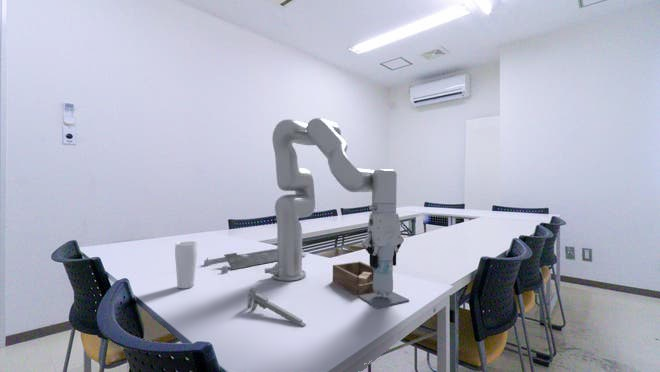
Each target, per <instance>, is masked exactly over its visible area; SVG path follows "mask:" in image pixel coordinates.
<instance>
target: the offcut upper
mask: <svg viewBox="0 0 660 372" xmlns="http://www.w3.org/2000/svg"><path fill="white" fill-rule="evenodd" d="M371 281H372V273H370V272H363V273H362V274H360V275H359V285H360V284H365V283H370V282H371Z"/></svg>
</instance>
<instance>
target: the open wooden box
mask: <svg viewBox="0 0 660 372" xmlns="http://www.w3.org/2000/svg"><path fill="white" fill-rule="evenodd" d="M363 272H370V273H372V280H373V274H374V268H373V267H370V264H367V263H365V262H363V261H360V260H359V261H355V262H354V261H352V262H345V263H340V264H333V265H332V282H333V283H334V284H336V285H338V286H339V287H341V288H343V289H344V290H346V291H348V292H350V293H352V294H353V295H355V296H356V297H358V295H363V294H368V293H373V292H374V291H373V282H371V283H365V284H360V285H359V275H360V274H362V273H363Z"/></svg>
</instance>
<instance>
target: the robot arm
mask: <svg viewBox="0 0 660 372" xmlns="http://www.w3.org/2000/svg"><path fill="white" fill-rule="evenodd" d="M272 132H273V133H272V138H271V139H272V140H271V141H272V146H273V150H274V159H275V171H276V172H275V173H276V183H277V186H278V189H280V190H281V191H284V192H294V193H295V194H294V193H293V194H285V195H282V196H280V197H278V198H277V199H276V201H275V203H274V204H275V205H274V213H275V216H276V228H277V231H276V233H277V235H276V239H277V240H276V241H277V242H276V243H277V244H276V245H277V246H276V247H277V248H276V249H277V261H276V263H275V264H274V266H272V267H265V268H264V274H266V275H267V274H270V275H272V278H273V279H274V280H278V281H283V282H285V281H286V282H289V281H290V282H292V281H297V280H301V279H304V278H305V277H306V271H305V270H304V269H302V268H303V257H302V252H303V229H302V225H301V222H300V220H299V219H301V218H302V219H303V218H308V217H310V216H312V215H313V213H314V212H315V209H316V196H315V182H314V178H313V175H312V173H311V171H310V170H308V169H307V168H304V167H299V165H298V163H299V162H298V155H297V154H298V153H297V152H296V150H295V148H294V146H293V144H298V145H304V146H316V147H317V148H318V149H319V150H320V152H321V153H322V154H323V156H324V157H325V158H326V159H327V164H328V168H329V171H330V173H331V175H332V176H333V177H334V178H335V179H336V181H337V182H338V183H339V185H340V186H341V187H343V189H345V190H346V191H348V192H349V193H369V192H371V205H369V207H368V208H369V210H370V211H371V212H370V214H369V217H368V224H367V233H366V234H367V235H366V237H365V238H364V239H363V240H362V241H361V246H363V248H364V249H365V250H366V252H367V254H369V265H370V267H373V268H375V269H377V268H378V256H377V255H376V254H377V251H378V248H379V247H384V246H386V244H387V242H392V245H393V246H394V256H393V267H395V266H397V254H398V252H399V249H400V248H401V246H402V244H403V243H404V238H403V237H402V234H401V233H402V232H401V230H402V229H401V221H400V216H399V213H397V189H398V188H397V178H398V177H397V176H398V175H397V172H396V170H394V169H389V168H386V169H385V168H383V169H382V168H381V169H375V170H372V169H365V168H357V167H356V166H355V165H354V163H352V161H350V159H349V158H348V157H347V155H346V153H347V149H348V144H347V142H346V141H345V140H344V139H343V138H342V137H341V132H342V131H341V129H340V126H339V125H338V124H337V123H336V122H334V121H330V120H328V119H325V118H321V117H317V118H312V119H311V120H310V121H308V123H307V122H303V121H299V120H294V119H282V120H280V121H279V122H278V123H277V124H276V125H275V128H274V129H273V131H272ZM373 248H374V250H373Z"/></svg>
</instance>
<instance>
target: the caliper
mask: <svg viewBox="0 0 660 372" xmlns="http://www.w3.org/2000/svg"><path fill="white" fill-rule="evenodd" d="M257 291H258V289H257V288H256V289H255V287H254V286H253V287H250V290H248V293H247V302H246V303H247V309H250V308H251V310H252V311H254V310H257V309H256V308H257V307H258V306H259V307H260V308H262V309H264V310H265V309H269V311H272V312H274V313H276V314H277V315H278V316H281V318H283V319H285V320H287V321H289V322H290V323H293V324H294V325H296V326H301V327H303V328H304V327H305V326H307V323H305V322H303V319H302V318H300V317H298V316H296V315H294V314H293V313H291V312H290V311H288V310H285V309H284V308H282V307H280V306H279V305H277V304H274V303H273V302H271V301H270V300H269V299H268V298H266V296H264V295H262V294H260V293H258V292H257Z"/></svg>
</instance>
